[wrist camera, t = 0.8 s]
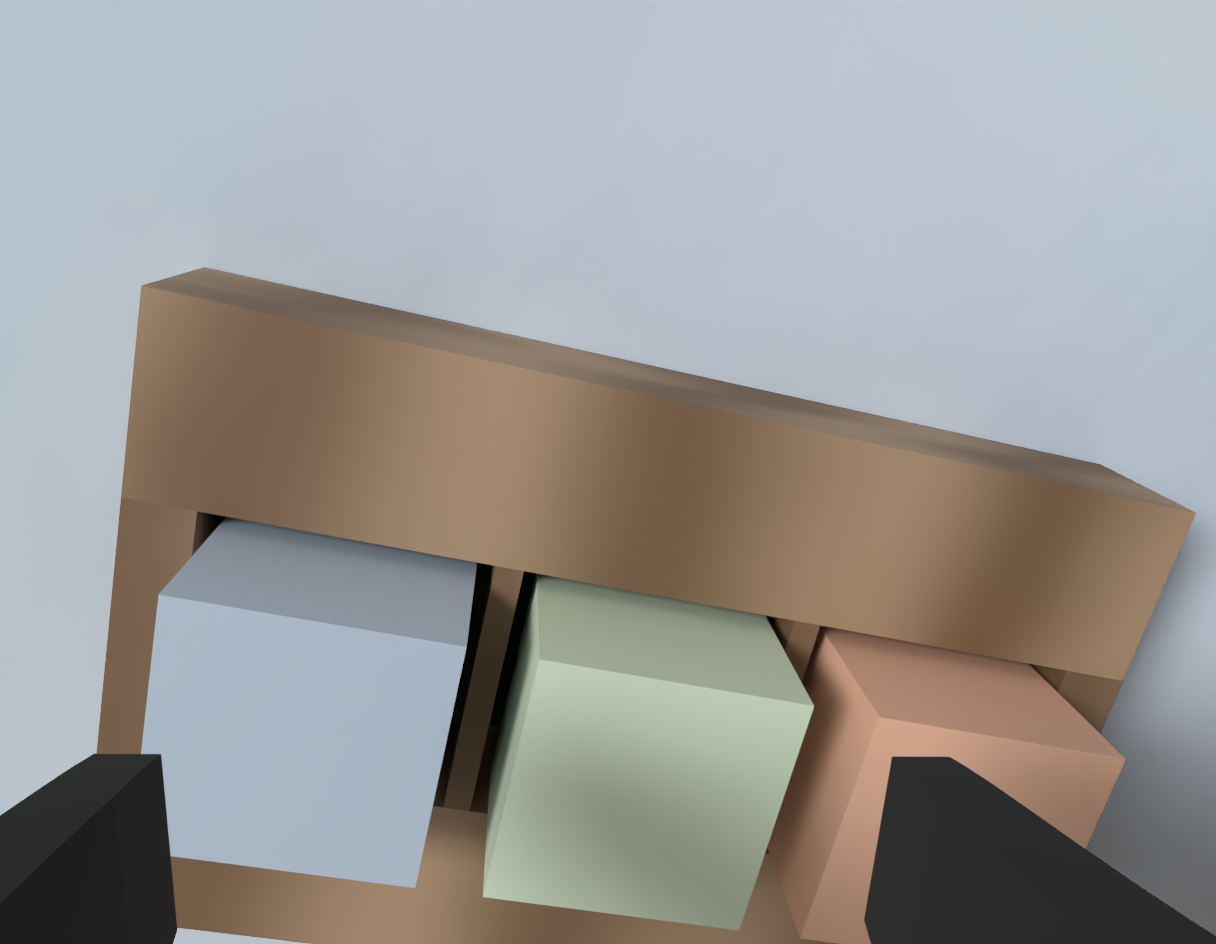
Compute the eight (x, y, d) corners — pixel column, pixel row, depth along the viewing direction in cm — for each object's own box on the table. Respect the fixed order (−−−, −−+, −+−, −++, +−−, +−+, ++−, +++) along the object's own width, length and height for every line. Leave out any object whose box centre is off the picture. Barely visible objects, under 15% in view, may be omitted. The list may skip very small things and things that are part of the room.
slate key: (478, 558, 17) (466, 647, 14) (433, 767, 18) (414, 893, 15) (230, 512, 17) (158, 594, 13) (201, 732, 18) (129, 856, 15)
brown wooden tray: (1100, 464, 20) (1195, 512, 17) (919, 919, 23) (973, 1023, 20) (204, 267, 17) (141, 286, 14) (142, 813, 21) (81, 915, 18)
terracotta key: (1023, 658, 19) (1126, 759, 16) (949, 844, 20) (1030, 973, 17) (816, 620, 18) (879, 716, 15) (753, 815, 19) (798, 943, 16)
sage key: (762, 610, 18) (814, 705, 15) (702, 807, 19) (738, 935, 16) (536, 569, 17) (539, 659, 14) (488, 776, 19) (481, 901, 15)
